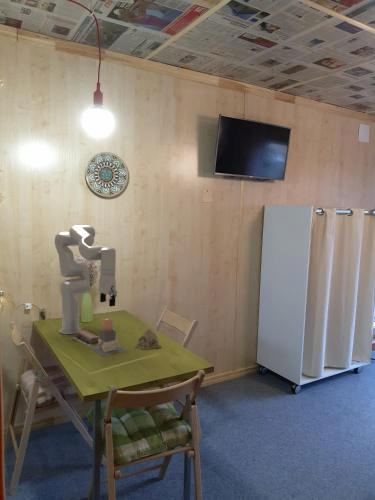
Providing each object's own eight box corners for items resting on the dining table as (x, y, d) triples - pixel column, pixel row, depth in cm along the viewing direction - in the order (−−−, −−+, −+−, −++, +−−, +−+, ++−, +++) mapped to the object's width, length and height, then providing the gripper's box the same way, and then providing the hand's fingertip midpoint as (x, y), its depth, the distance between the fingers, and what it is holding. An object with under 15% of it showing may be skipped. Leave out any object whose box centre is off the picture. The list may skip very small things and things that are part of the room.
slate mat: (88, 348, 201) (88, 347, 201) (111, 343, 210) (111, 341, 210) (102, 358, 189) (102, 356, 189) (126, 352, 198) (126, 350, 198)
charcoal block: (99, 339, 199) (99, 329, 198) (109, 336, 203) (109, 327, 202) (105, 342, 195) (105, 333, 194) (115, 340, 198) (115, 330, 198)
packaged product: (71, 331, 214) (87, 328, 221) (71, 339, 215) (87, 336, 222) (88, 340, 202) (104, 336, 209) (88, 348, 202) (104, 344, 209)
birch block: (98, 348, 200) (98, 339, 199) (110, 345, 204) (110, 336, 204) (104, 352, 194) (104, 342, 194) (116, 349, 199) (116, 340, 198)
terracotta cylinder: (100, 329, 199) (100, 318, 198) (109, 328, 202) (109, 317, 201) (105, 332, 194) (105, 321, 194) (114, 330, 198) (114, 319, 197)
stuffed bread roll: (146, 341, 215) (146, 324, 214) (163, 345, 210) (163, 327, 209) (131, 349, 203) (132, 331, 202) (149, 353, 198) (149, 335, 197)
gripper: (93, 269, 199) (93, 301, 201) (109, 275, 186) (109, 308, 188) (106, 268, 204) (105, 299, 206) (123, 273, 191) (122, 306, 193)
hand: (107, 303), depth 197 cm, fingers open, 9 cm apart
